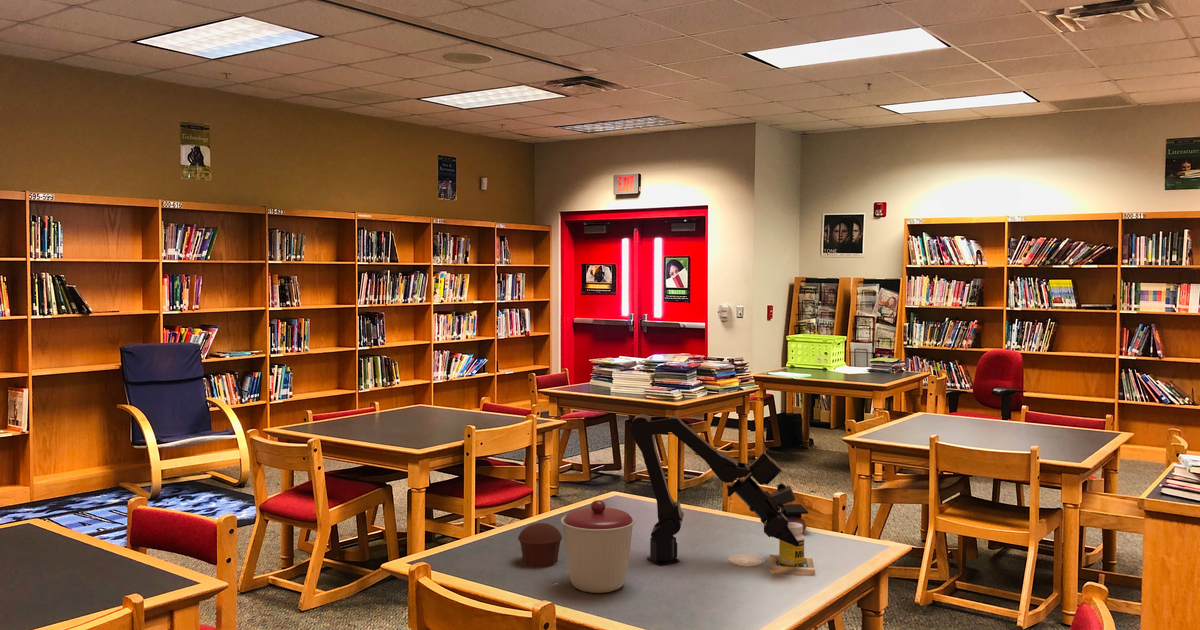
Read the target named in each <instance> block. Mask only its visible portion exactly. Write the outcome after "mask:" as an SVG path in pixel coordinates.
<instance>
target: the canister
mask: <svg viewBox="0 0 1200 630" xmlns="http://www.w3.org/2000/svg"><path fill="white" fill-rule="evenodd" d="M560 523H561V524H562V525H563V532H564V533H563V534H564V542H565V551H566V560H567V561H566V563H567V567H568V576H569V579H570V582H571V584H572V585H573V586H574V588H576V589H577V590H579V591H582V592H585V593H595V594H603V593H610V592H615V591H617V590H619V589H620V588H621V587H622V586H623V585H624V583H625V582H626V579H627V574H628V568H629V562H630V554H631V553H630V552H631V544H632V543H631V542H632V535H633V526H634V525H635V523H636V518H635V517H634V516H633V515H631V514H629V513H628V512H626V511H625V510H621V509H618V508H612V507H606V503H605V502H604V501H603V500H601V499H600V500H599V499H597V500H593V501H591V504H590V507H583V508H579V509H574V510H571V511H570V512H568V513H567V514H564V516H562V517H561V519H560Z"/></svg>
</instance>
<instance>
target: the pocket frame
mask: <svg viewBox="0 0 1200 630" xmlns="http://www.w3.org/2000/svg"><path fill="white" fill-rule="evenodd" d="M777 563H779V554H769V569H770V570H769V571H770V574H779V575H780V574H781V575H795V576H796V575H799V576H813V577H814V576H816V575H815V574H816V573H815V571H816V569H815V565H814V561H813V556H805V555H804V565H806V566H804V567H788V566H779V565H777Z"/></svg>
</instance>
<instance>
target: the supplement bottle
mask: <svg viewBox="0 0 1200 630" xmlns="http://www.w3.org/2000/svg"><path fill="white" fill-rule="evenodd" d="M788 528H789V529H790V530H791V532H792V533H793V535H794V536H795V538H796V539H797V541H798V542H799V545H798V546H794V545H792V544H789V543H787V542H785V541H782V540H779V539H778V540H779V546H778V547H779V550H778V551H779V552H778V555H779V562H778V566H788V567H805V564H804V556H805V536H804V534H803V533H804V532H803V525H802V524H800V523H795V522H788Z"/></svg>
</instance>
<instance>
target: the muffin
mask: <svg viewBox="0 0 1200 630" xmlns="http://www.w3.org/2000/svg"><path fill="white" fill-rule="evenodd" d="M562 539H563V535H562V534H561V532H560V530H559V529H558V528H557V527H555V526H554V525H552V524H550V523H545V522H537V523H532V524H530V525H529V524H528V526H526V527H524V528H523V529H522V530H521V531H520V533H519V534H518V536H517V540H518V541H519V543H520V549H521V554H522V561H523V563H524V564H525V566H528V567H532V568H546V567H551V566H552V567H553V566H554V565H556V564H557V563H558V559H559V552H560V545H561V541H562Z"/></svg>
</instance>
